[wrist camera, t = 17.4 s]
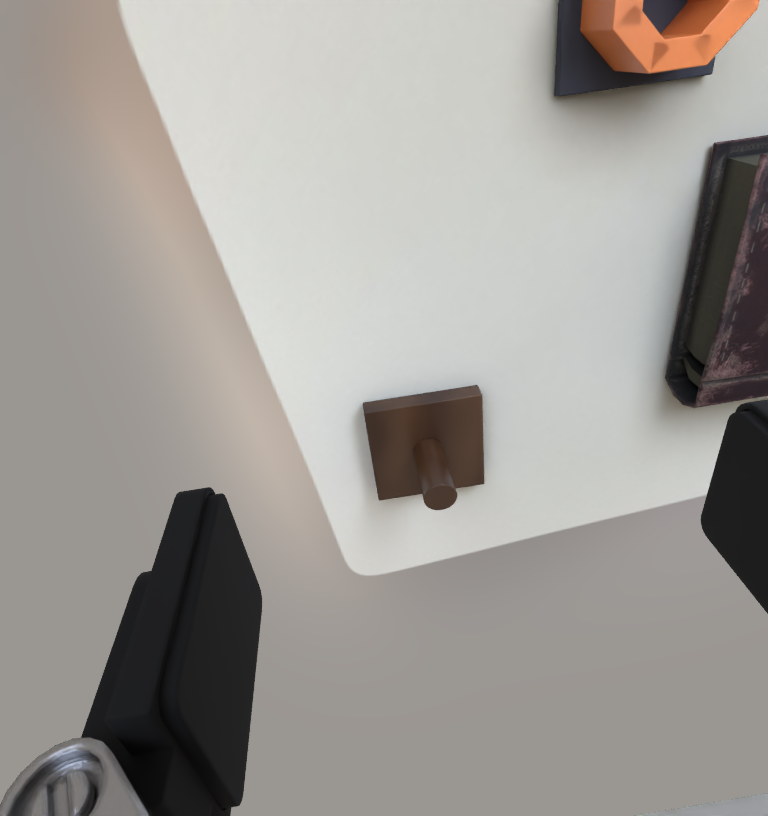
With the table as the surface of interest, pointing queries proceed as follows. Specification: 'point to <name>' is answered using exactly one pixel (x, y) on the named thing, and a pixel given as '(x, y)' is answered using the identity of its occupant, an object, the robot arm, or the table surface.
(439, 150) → the table surface
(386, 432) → the stand
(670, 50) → the ring
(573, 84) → the mat
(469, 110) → the table surface
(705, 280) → the diary
